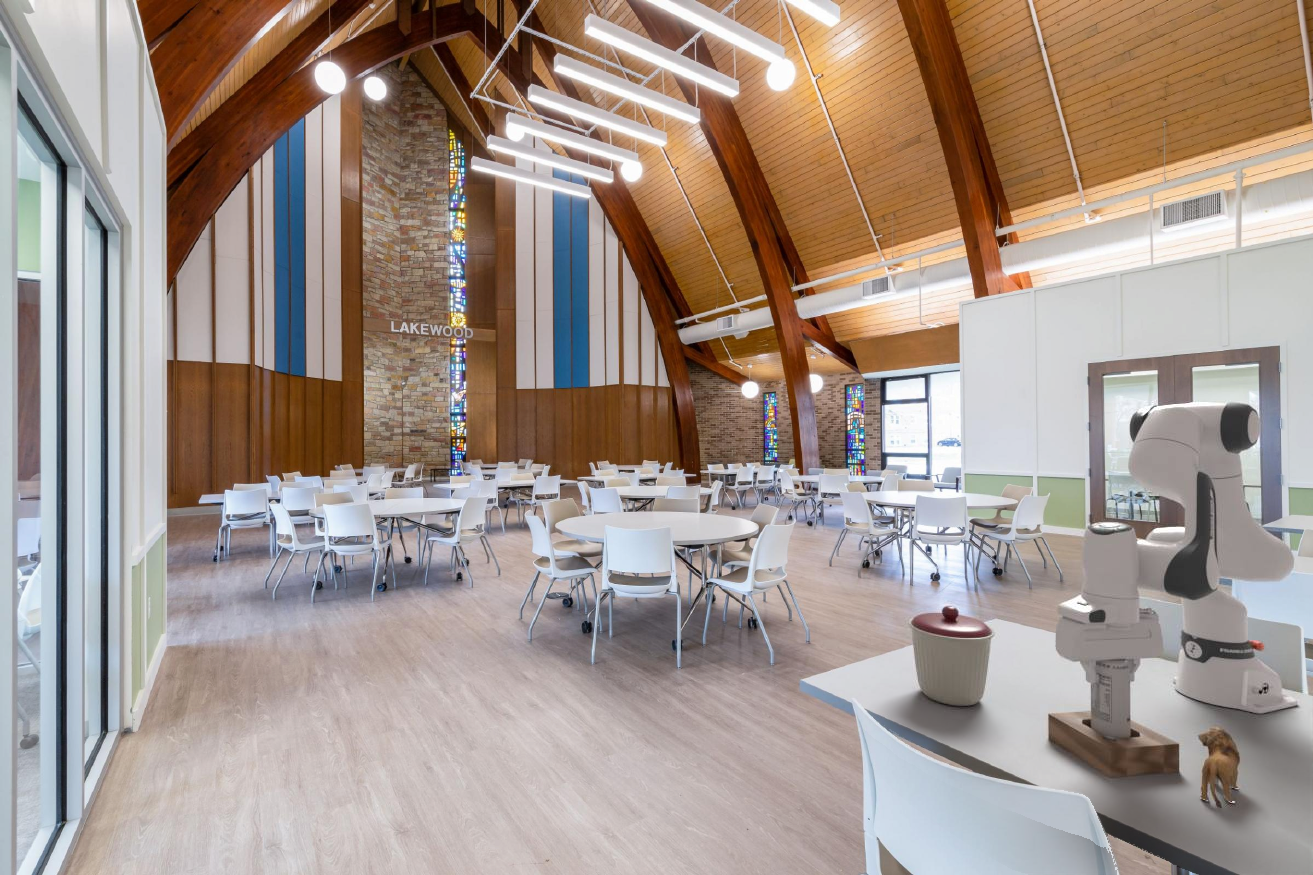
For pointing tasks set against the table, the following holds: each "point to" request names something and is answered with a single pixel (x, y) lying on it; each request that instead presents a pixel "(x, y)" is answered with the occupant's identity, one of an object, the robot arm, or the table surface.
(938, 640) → the canister
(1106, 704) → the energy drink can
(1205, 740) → the lion figurine
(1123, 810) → the table surface
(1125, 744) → the block
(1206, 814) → the table surface
